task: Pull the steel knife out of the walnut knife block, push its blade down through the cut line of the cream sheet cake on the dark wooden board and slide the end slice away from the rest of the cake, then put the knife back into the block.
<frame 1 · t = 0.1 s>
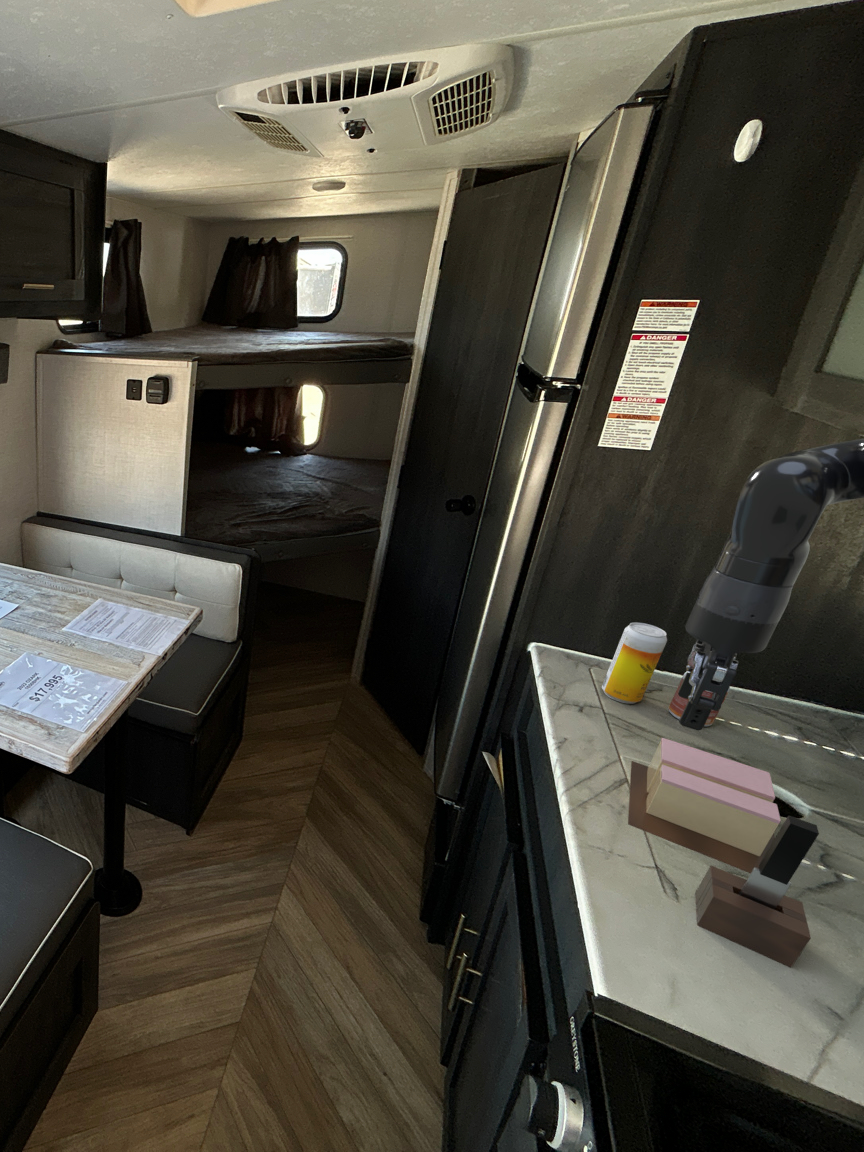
hand: (688, 711, 86), 20 cm above the counter, tool pointing down, fingers open, 8 cm apart
cake: (698, 799, 97), resting on cake board
cake slice: (700, 825, 92), point 1 cm above the counter, touching cake board
pill bottle: (688, 718, 117), on the counter
cake board: (696, 821, 94), on the counter
knife: (740, 928, 77), point 1 cm above the counter, touching knife block
beer can: (619, 696, 123), on the counter
knife block: (736, 933, 78), on the counter
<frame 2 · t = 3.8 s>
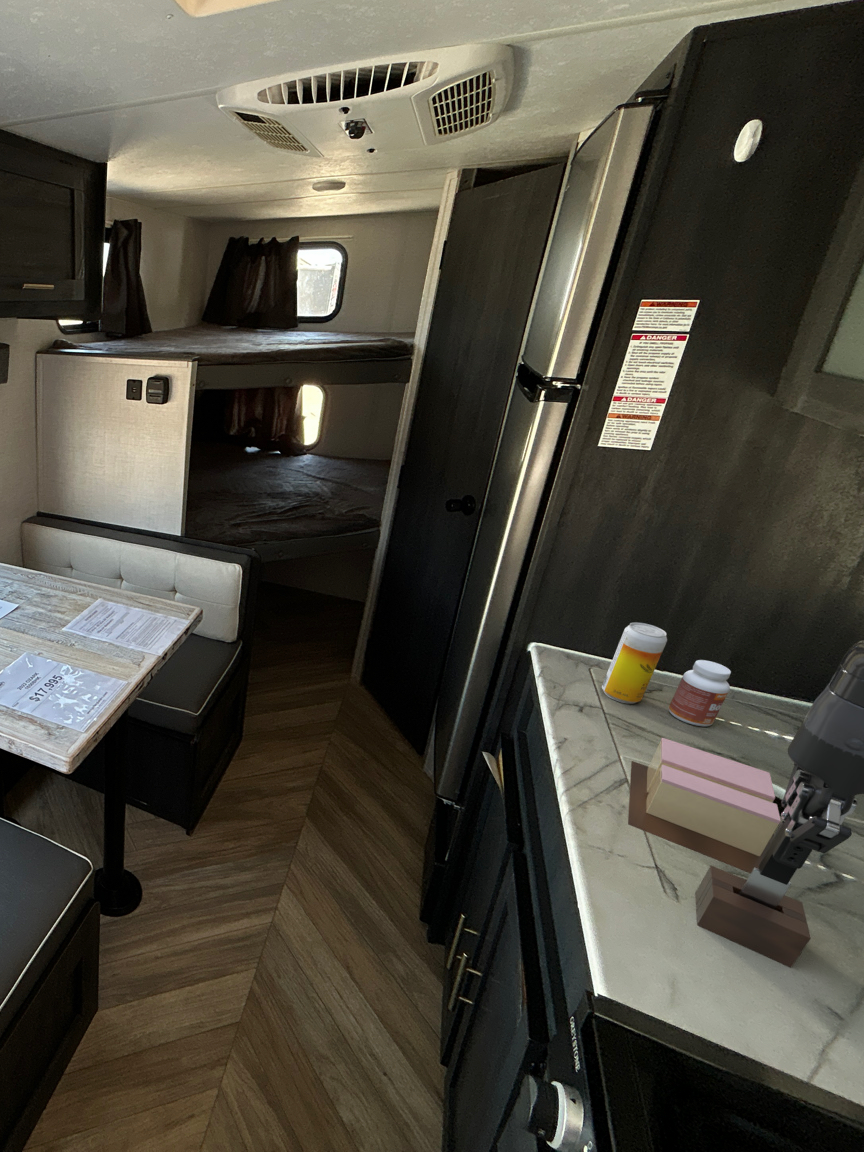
hand: (784, 856, 73), 13 cm above the counter, tool pointing down, fingers closed on knife, 1 cm apart
knife: (740, 928, 77), point 1 cm above the counter, touching gripper, knife block
everything else where it was.
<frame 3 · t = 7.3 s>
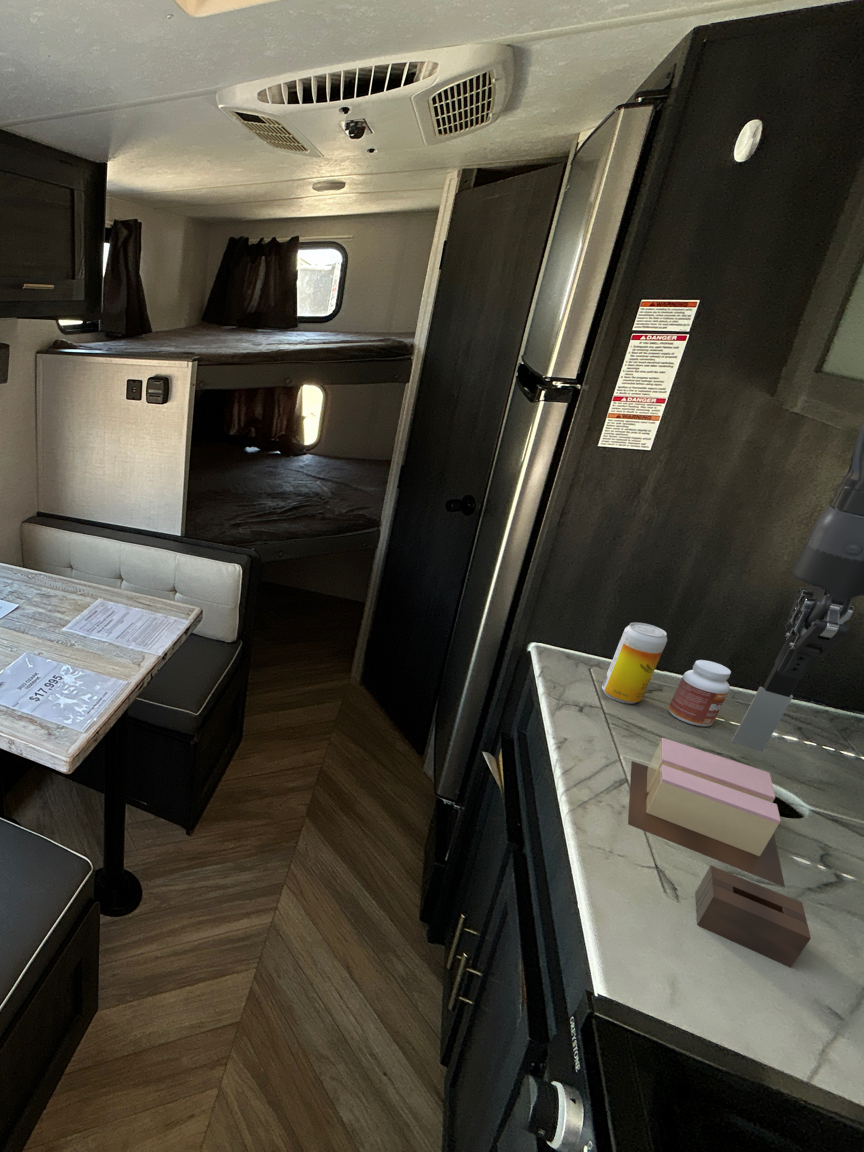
hand: (787, 671, 81), 28 cm above the counter, tool pointing down, fingers closed on knife
knife: (746, 746, 85), point 16 cm above the counter, touching gripper
everything else where it was.
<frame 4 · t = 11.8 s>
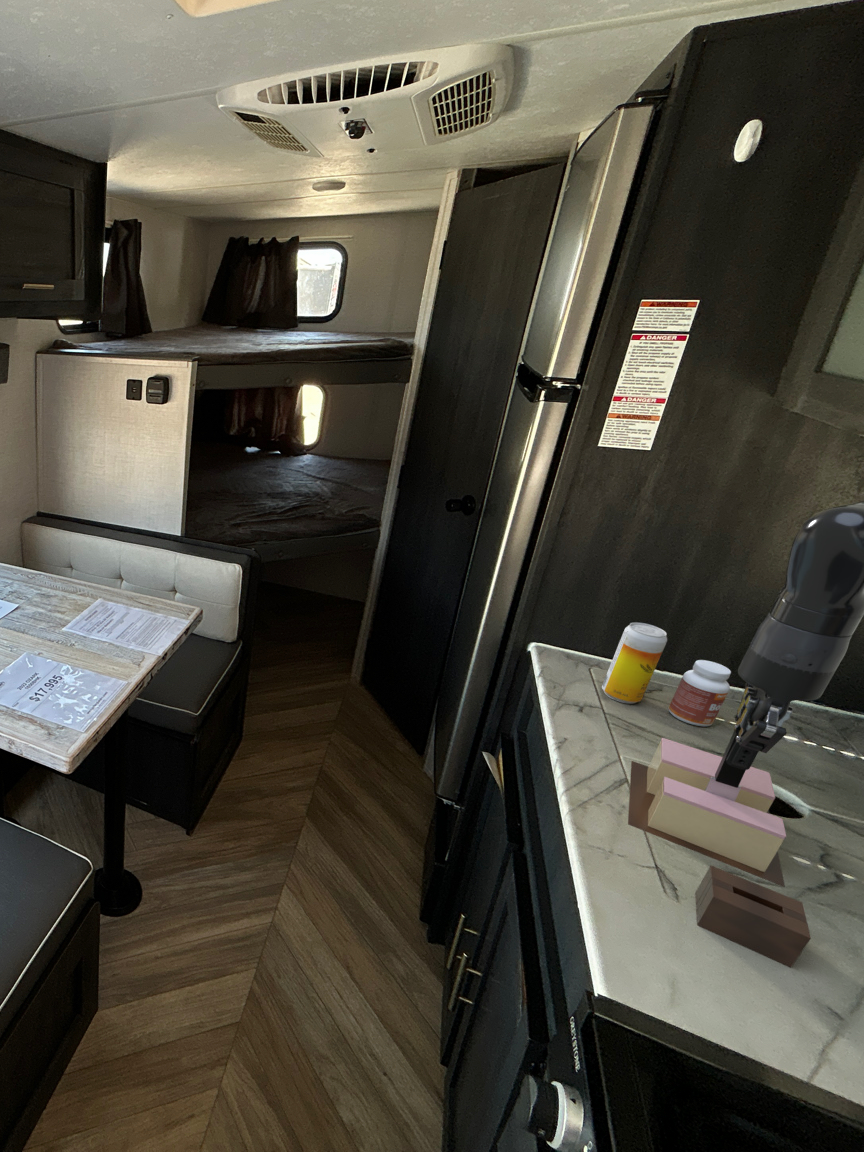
hand: (735, 761, 86), 14 cm above the counter, tool pointing down, fingers closed on knife, 1 cm apart
cake slice: (703, 839, 90), point 1 cm above the counter, touching cake board, knife
knife: (703, 830, 91), point 1 cm above the counter, touching cake board, cake slice, gripper
everything else where it was.
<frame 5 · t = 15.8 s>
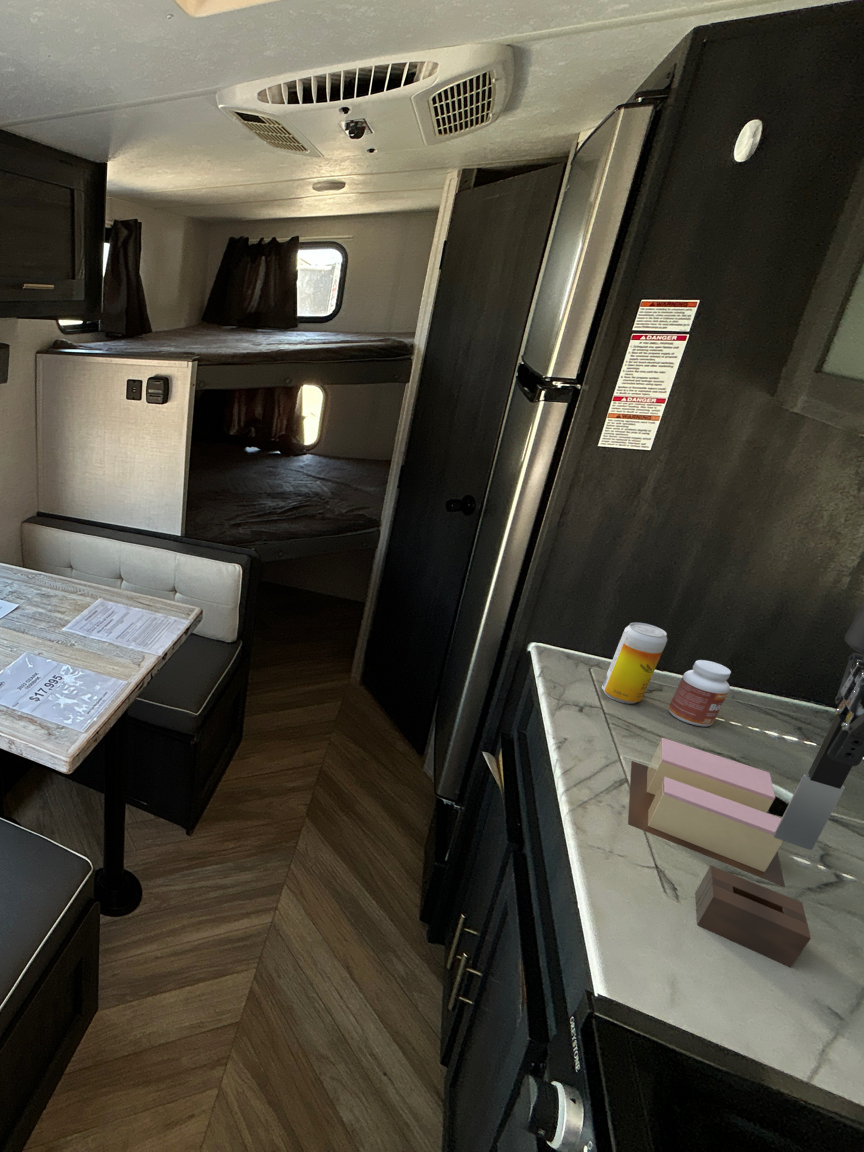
hand: (839, 755, 68), 27 cm above the counter, tool pointing down, fingers closed on knife
cake slice: (703, 839, 90), point 1 cm above the counter, touching cake board
knife: (792, 843, 72), point 15 cm above the counter, touching gripper
everything else where it was.
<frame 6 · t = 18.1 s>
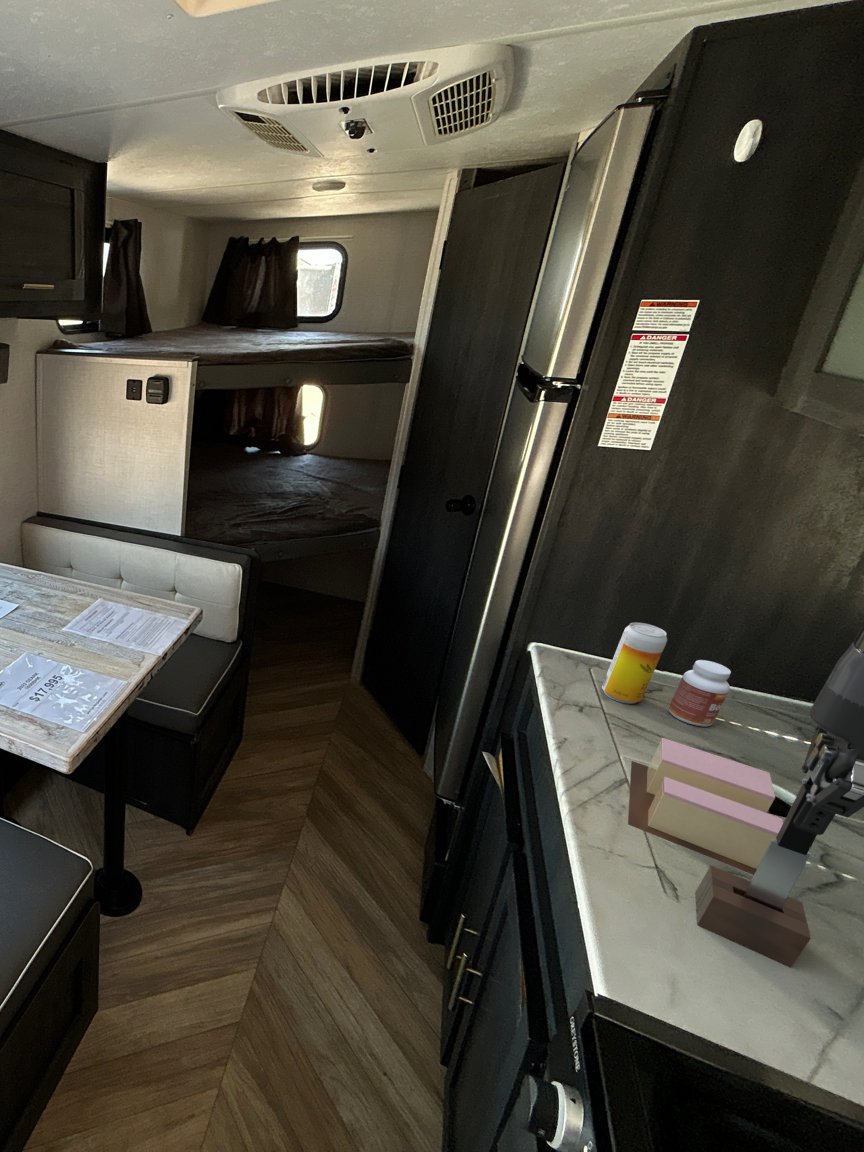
hand: (804, 822, 71), 18 cm above the counter, tool pointing down, fingers closed on knife
knife: (761, 903, 75), point 6 cm above the counter, touching gripper
everything else where it was.
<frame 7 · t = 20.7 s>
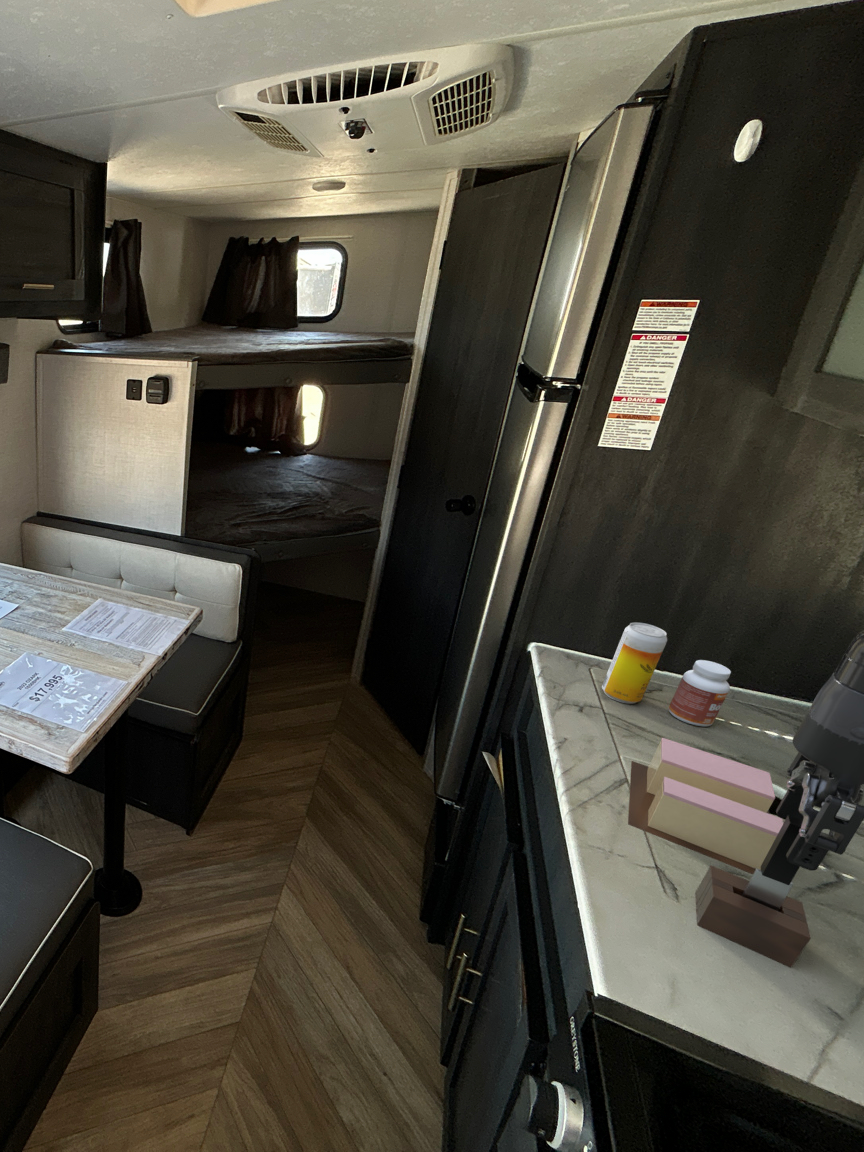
hand: (793, 840, 72), 15 cm above the counter, tool pointing down, fingers open, 8 cm apart
knife: (744, 929, 77), point 1 cm above the counter, touching knife block
everything else where it was.
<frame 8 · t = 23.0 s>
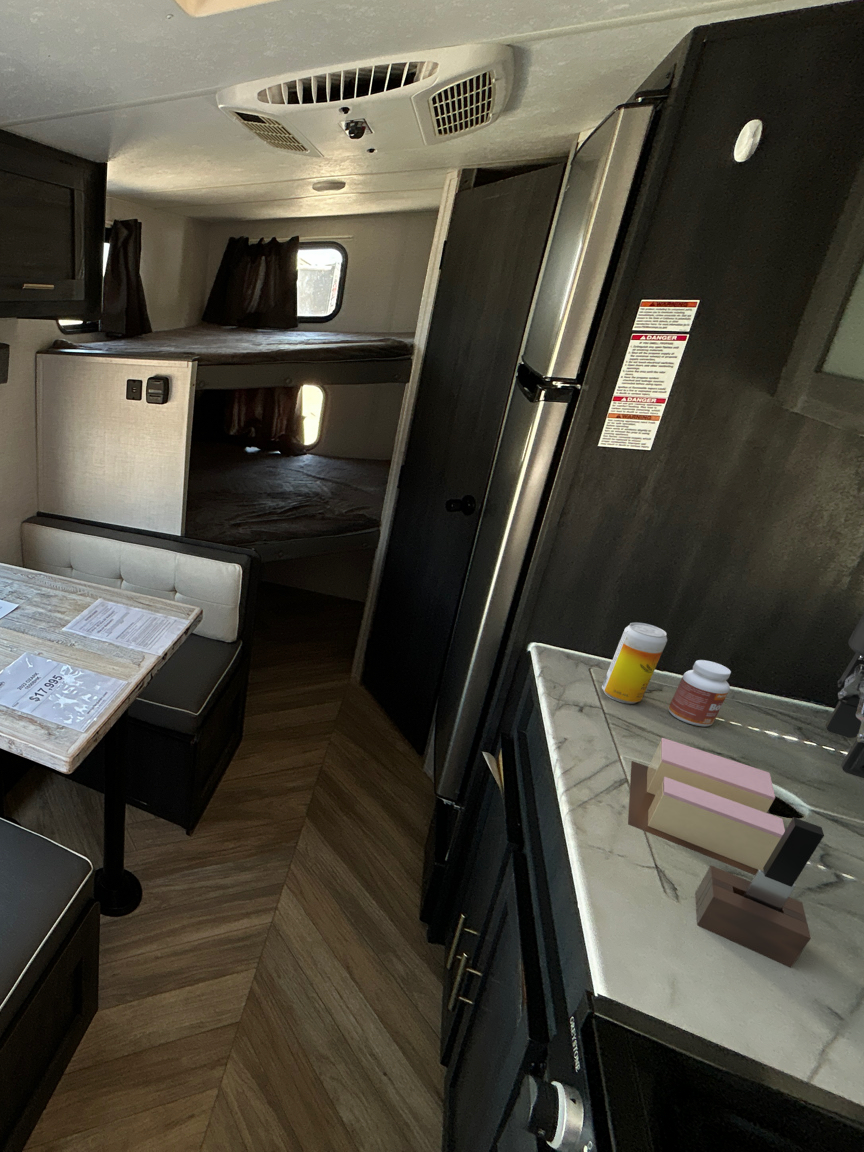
hand: (847, 752, 67), 28 cm above the counter, tool pointing down, fingers open, 8 cm apart
nothing on the counter moved.
at the end: cake slice moved 3.2 cm from its start; cake slice touching cake board; knife 0.4 cm off-centre on the knife block, point 1.0 cm above the knife block's base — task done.
